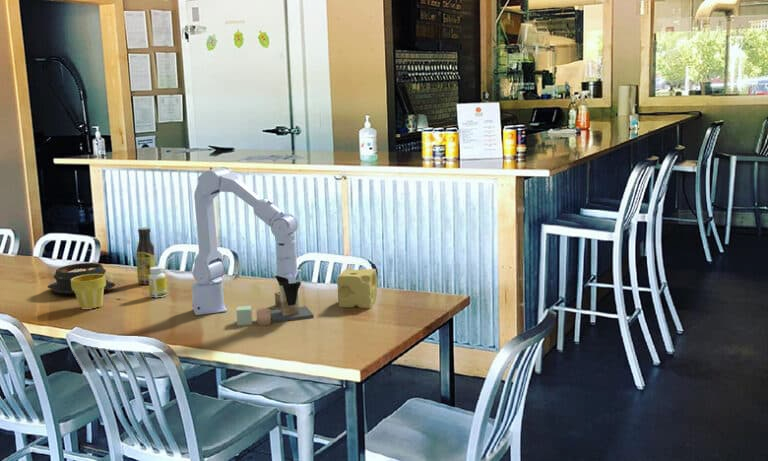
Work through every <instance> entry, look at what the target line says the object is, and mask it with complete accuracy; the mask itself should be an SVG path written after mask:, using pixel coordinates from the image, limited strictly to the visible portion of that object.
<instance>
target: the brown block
mask: <svg viewBox="0 0 768 461" xmlns="http://www.w3.org/2000/svg"><path fill="white" fill-rule="evenodd" d="M270 311H271V309H270V308H260V309H256V310H255V313H256V314H255V315H256V325H257V326H260V327H267V326H271V324H272V321H271V312H270Z"/></svg>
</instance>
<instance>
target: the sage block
mask: <svg viewBox="0 0 768 461" xmlns="http://www.w3.org/2000/svg"><path fill="white" fill-rule="evenodd" d="M236 321H237V326H245V325H247V326H249V325H253V313H252V305H242V306H240V305H239V306H237V307H236Z"/></svg>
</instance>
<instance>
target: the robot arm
mask: <svg viewBox="0 0 768 461" xmlns="http://www.w3.org/2000/svg"><path fill="white" fill-rule="evenodd" d="M221 192H222V193H223V192H225V193H232V194H234V195H235V196H237V197H238V198H239V199H241V200H242V201H243V202H245V203H246V204H247V205H249V206H250V207H252V209H253V213H254V215H255V216H256V217H257V218H258V219H260V220H262V222H263V223H265V224H266V225H267V226H268V227H269V228H270V231H271V233H272V235H273V236H274V239H275V251H276V269H277V270H276V275H275V279H276V281H277V283H278V285H279V287H280V286H282V287H283V289H284V291H285V295H286V300H287V304H288V306H290V305H295V304H296V298H297V292H298V293H299V288H300V287H301V283H302V282H301V281H300V280H297V278H296V277H297V276H298V274H301V273H302V270H301V269H298V265H297V264H298V263H297V262H298V261H297V246H296V232H297V230H298V226H299V223H298V221H297V219H296V218H295V216H294V215H293V214H289V213H286V212H285V211H284V210H281V209H280V208H279V207H278V206H276V205H275V204H274V201H273V200H272V199H268V198H260V197H259V196H258V195H257V194H256V193H255V192H254V191H253V190H252V189H251V188H250V187H249V186H248V185H246V183H245V182H243V181H242V180H241V179H240V177H239V176H238V174H237V173H236V172H233V171H232V170H231V169H230V168H229V167H227V166H223V167H219V168H215V169H208V170H205V171H203V172H202V173H201V174H200V175H199V176H198V177H197V185H196V187H195V191H194V195H193V198H194V207H195V208H194V209H195V221H196V231H197V232H196V233H197V243H198V245H197V246H198V253H197V255H196V256H195V258H194V262H193V264H194V265H193V268H192V277H193V280H194V281H195V282H196V283H193V284H191V296H192V297H191V298H192V303H191V306H192V309H193V312H194V315H196V316H200V315H208V314H217V313H223V312H224V313H225V312H227V311H228V309H227V308H226V305H225V301H224V300H225V299H224V287H223V286H224V284H223V279H224V278H223V276H224V275H225V274H226V271H227V270H226V269H227V266H226V264H225V262H224V259H223V254H222V253H221V252H220V251H219V250H218V242H217V239H218V238H217V231H216V230H217V228H216V215H215V206H214V199H215V198H216V197H217V196H218V195H219V194H220V193H221Z"/></svg>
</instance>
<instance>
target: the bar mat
mask: <svg viewBox="0 0 768 461" xmlns="http://www.w3.org/2000/svg"><path fill="white" fill-rule="evenodd" d="M270 312H271V323H272V324H273V323H280V322H287V321H288V322H289V321H290V322H291V321H297V320H303V319H311V318H312V319H313V318H314V314H313V313H312V311H311V310H310V309H309V308H308V306H305V305H304V306H299V314H295V315H286V316H284V315H283V314H282V312H281V308H280V309H272V310H271V309H270Z"/></svg>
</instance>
